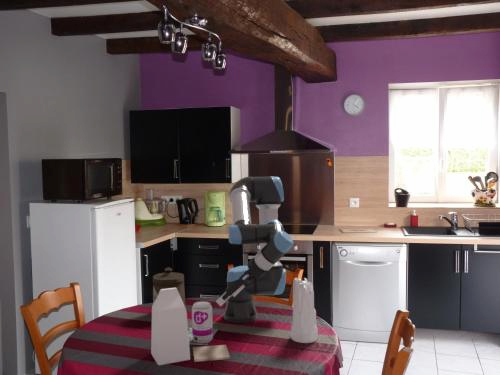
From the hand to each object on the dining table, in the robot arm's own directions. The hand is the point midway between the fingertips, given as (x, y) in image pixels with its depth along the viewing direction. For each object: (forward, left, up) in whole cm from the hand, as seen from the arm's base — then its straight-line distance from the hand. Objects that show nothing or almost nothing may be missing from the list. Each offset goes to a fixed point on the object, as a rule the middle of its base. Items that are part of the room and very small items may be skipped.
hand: (225, 298), depth 208 cm
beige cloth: (+7, +10, -18) cm, 22 cm away
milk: (+22, +9, -18) cm, 30 cm away
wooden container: (+22, -42, -18) cm, 51 cm away
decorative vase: (-32, +1, -18) cm, 37 cm away
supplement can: (+9, -5, -18) cm, 21 cm away
